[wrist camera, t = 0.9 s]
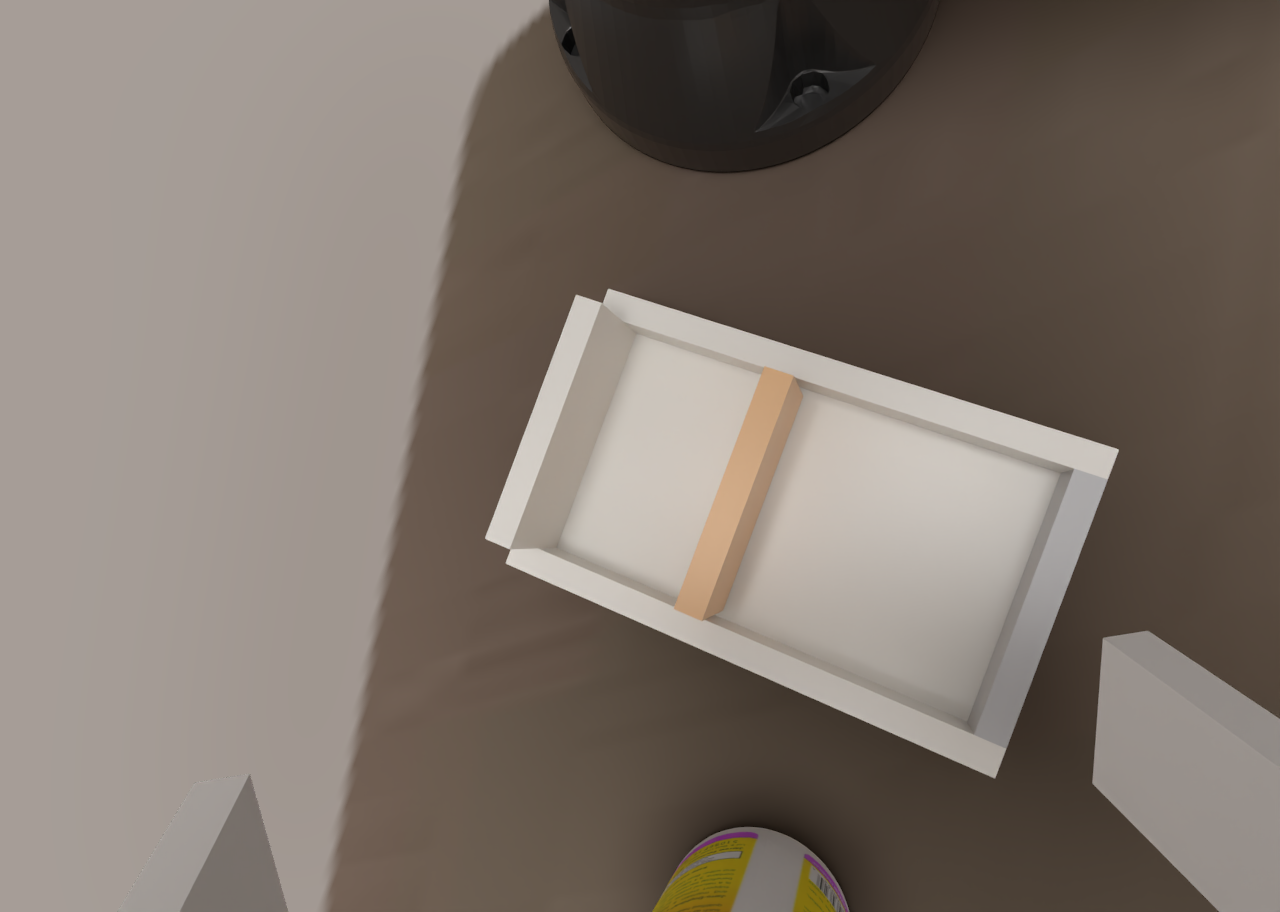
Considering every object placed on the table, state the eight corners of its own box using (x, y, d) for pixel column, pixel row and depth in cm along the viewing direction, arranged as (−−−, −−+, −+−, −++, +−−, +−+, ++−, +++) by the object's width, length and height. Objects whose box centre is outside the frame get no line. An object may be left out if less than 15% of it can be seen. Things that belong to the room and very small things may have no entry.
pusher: (777, 387, 30) (764, 366, 27) (803, 396, 30) (793, 375, 26) (698, 600, 30) (673, 609, 27) (723, 610, 30) (701, 621, 26)
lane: (626, 306, 33) (586, 267, 28) (1097, 457, 28) (1144, 440, 23) (531, 561, 33) (474, 565, 28) (984, 758, 28) (1008, 803, 23)
